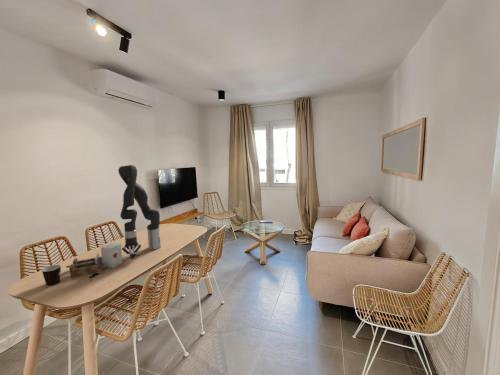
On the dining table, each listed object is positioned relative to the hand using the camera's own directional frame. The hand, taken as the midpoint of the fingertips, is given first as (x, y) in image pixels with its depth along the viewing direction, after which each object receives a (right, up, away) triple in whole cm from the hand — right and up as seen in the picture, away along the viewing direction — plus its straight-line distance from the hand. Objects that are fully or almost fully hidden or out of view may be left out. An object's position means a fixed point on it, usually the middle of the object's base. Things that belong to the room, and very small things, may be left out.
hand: (132, 258), depth 163 cm
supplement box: (-11, -3, -5) cm, 13 cm away
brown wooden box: (-22, -4, -11) cm, 25 cm away
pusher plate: (-26, -3, -14) cm, 30 cm away
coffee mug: (-33, -6, -30) cm, 45 cm away
